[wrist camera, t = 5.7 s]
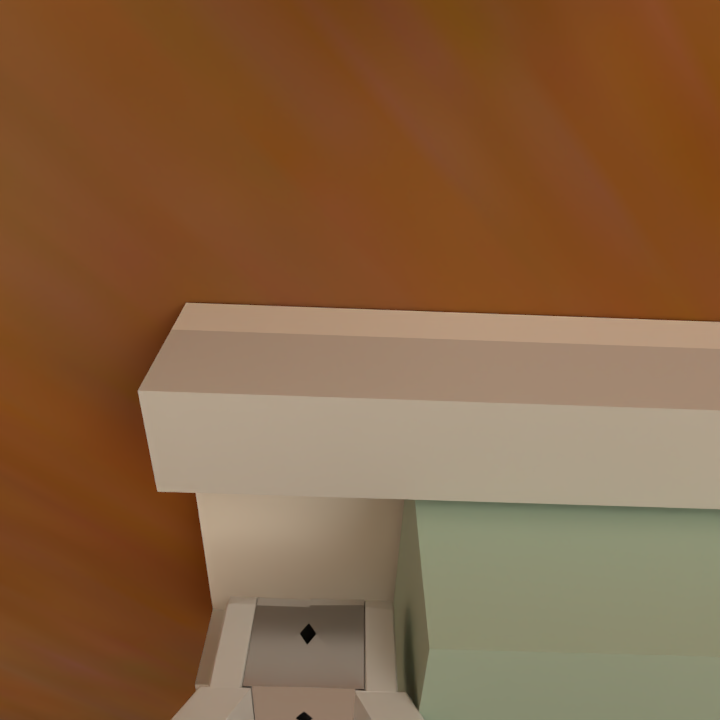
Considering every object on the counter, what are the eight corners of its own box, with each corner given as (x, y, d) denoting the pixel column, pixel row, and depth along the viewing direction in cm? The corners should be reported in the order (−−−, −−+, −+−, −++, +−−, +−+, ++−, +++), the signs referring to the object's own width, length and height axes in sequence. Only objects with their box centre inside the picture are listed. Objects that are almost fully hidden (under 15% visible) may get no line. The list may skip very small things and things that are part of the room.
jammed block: (725, 459, 11) (877, 660, 8) (647, 621, 14) (738, 823, 11) (409, 449, 11) (429, 648, 8) (391, 613, 14) (401, 815, 11)
